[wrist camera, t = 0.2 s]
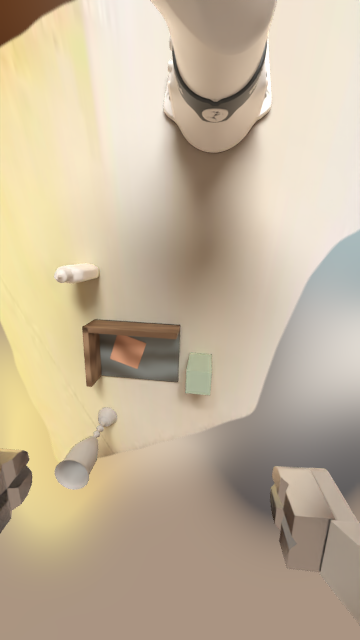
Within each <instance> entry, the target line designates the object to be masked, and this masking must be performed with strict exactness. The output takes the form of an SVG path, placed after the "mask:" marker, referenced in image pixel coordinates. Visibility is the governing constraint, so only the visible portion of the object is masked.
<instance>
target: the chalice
mask: <svg viewBox="0 0 360 640" xmlns="http://www.w3.org/2000/svg"><path fill="white" fill-rule="evenodd" d="M116 420H117V414H116V412H115V411H114V410H113V409H111V408H108V407H105V408H102V409H101V410H100V411H99V415H98V421H99V423H100V424H101V425H99V426H97V431H95V432H94V435H93V436H90V437H88V438H86V439H84V440H82V441H80V442H79V443H77V444H76V445H75V446H74V447H73V448H72V449H71V450H70V452H69V453H68V455H67V456H66V457H65V459H64V460H63V461H62V462H60V463H59V464H58V465H57V466H56V469H55V476H56V479H57V480H58V482H59V483H60V484H61V485H63V486H64V487H66V488H68V489H80V488H83V487H84V486H85V485H87V483H88V481H89V474H90V472H91V470H92V468H93V466H94V464H95V462H96V460H97V455H98V440H97V437H99V436H100V432H102V431H103V430H104V428H103V426H110V425H111V424H113V423H114V422H116Z"/></svg>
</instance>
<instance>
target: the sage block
mask: <svg viewBox="0 0 360 640" xmlns="http://www.w3.org/2000/svg"><path fill="white" fill-rule="evenodd" d="M211 378H212V354H201V353H190V354H189V360H188V365H187V370H186V390H185V393H191V394H202V395H210V391H211Z"/></svg>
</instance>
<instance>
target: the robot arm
mask: <svg viewBox="0 0 360 640" xmlns="http://www.w3.org/2000/svg"><path fill="white" fill-rule="evenodd" d="M150 1H151V2H152V3H153V4H154V6H155V7H156V8H157V9H158V11H159V12H160V13H161V15H162V16H163V17H164V19H165V21H166V23H167V25H168V28H169V32H170V50H171V51H172V58H171V60H169V62H168V72H169V75H168V80H167V86H166V92H165V97H164V103H163V107H164V112H165V114H166V115H167V116H168V117H169V118H170V119H172V120H173V121H174V122H176V124H177V125H178V127H179V128H180V130H181V132H182V134H183V136H184V137H185V138H186V140H187V141H188V142H189V143H190V144H191V145H193V146H194V147H196V148H197V149H199V150H202V151H205V152H212V153H215V152H222V151H225V150H228V149H230V148H232V147H234V146H235V145H237V144H238V143H239V142H240V141H241V140H242V139H243V138H244V137H245V136H246V135H247V133H248V132H249V130H250V129H251V127H252V126H253V125H254V123H255V122H256V121H258V120H259V119H261V118H262V117H263V116H265V115H266V114H267V113H268V112H269V110H270V108H271V104H272V97H271V79H270V61H269V43H268V33H269V29H270V26H271V22H272V18H273V15H274V11H275V7H276V3H277V0H150ZM265 96H266V98H265V99H264V97H265ZM169 99H170V100H169ZM28 461H29V456H28V452H26V451H23V450H13V449H3V448H0V533H1V532H2V530H3V529H4V527H5V526H6V525H7V523H8V522H9V520H10V519H11V514H12V510H13V509H14V508H16V507H18V506H19V505H20V504H22V502H23V501H24V499H25V498H26V496H27V495H28V492H29V490H30V487H31V485H32V472H31V470H30V469H29V468H28V467H27V466H26V464H27V463H28ZM272 477H273V480H274V483H275V484H274V485H273V486H272V487H271V492H270V503H271V511H272V516H273V520H274V524H275V525H276V526H277V527H278V529H279V530H280V538H279V542H280V545H281V549H282V553H283V556H284V559H285V563H286V567H287V568H289V569H297V570H305V571H314V572H320V575H321V576H322V578H323V579H324V580H325V581H326V582H327V584H328V585H329V587H330V588H331V589H332V591H333V592H334V593H335V594H336V596H337V597H338V598H339V600H340V601H341V602H342V603H343V605H344V606H345V607H346V609H347V610H348V611H349V612H350V614H351V615H352V616H353V618H355V620H356V621H357V623H358V624H359V625H360V522H358V521H357V519H356V517H355V516H354V514H353V512H352V511H351V509H350V507H349V506H348V504H347V502H346V501H345V499H344V497H343V496H342V494H341V492H340V490H339V489H338V487H337V485H336V484H335V482H334V480H333V479H332V477H331V476H330V474H329V472H328V471H327V470H326V469H323V468H301V467H282V466H281V467H280V466H274V468H273V474H272Z"/></svg>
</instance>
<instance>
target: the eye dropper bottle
mask: <svg viewBox="0 0 360 640" xmlns="http://www.w3.org/2000/svg"><path fill="white" fill-rule="evenodd" d="M97 277H99V269H98V267H97V266H95V265H92V264H88V263H82V264H73V265H65V266H61V267H59V268H57V270H56V272H55V274H54V278H55V279H56V280H57V281H58V282H60V283H64V282H66V283H79V282H83V281H87V280H91V279H95V278H97Z"/></svg>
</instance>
